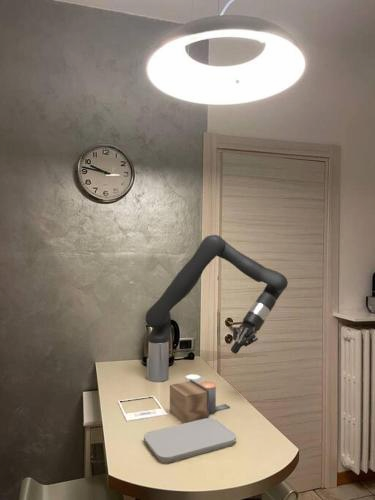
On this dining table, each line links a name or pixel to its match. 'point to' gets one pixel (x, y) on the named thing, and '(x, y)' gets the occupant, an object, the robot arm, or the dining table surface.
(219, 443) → the tablet
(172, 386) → the brown rectangular block
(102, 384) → the dining table surface
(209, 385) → the push knob
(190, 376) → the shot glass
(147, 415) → the photo frame
